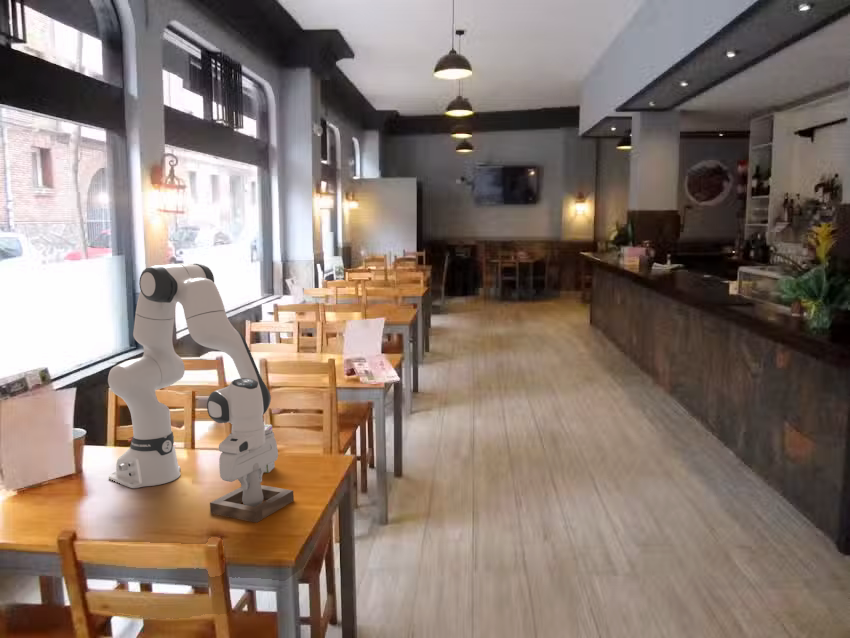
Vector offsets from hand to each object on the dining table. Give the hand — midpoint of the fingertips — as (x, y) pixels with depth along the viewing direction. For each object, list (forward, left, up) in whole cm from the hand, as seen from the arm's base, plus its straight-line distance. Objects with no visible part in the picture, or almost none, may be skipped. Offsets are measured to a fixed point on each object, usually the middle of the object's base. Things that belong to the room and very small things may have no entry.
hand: (251, 486), depth 190 cm
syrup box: (-17, +25, -6) cm, 31 cm away
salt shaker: (0, 0, -6) cm, 6 cm away
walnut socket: (0, 0, -6) cm, 6 cm away
